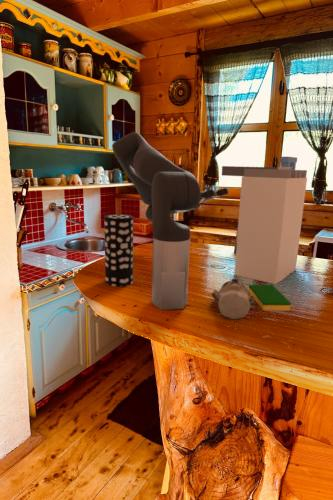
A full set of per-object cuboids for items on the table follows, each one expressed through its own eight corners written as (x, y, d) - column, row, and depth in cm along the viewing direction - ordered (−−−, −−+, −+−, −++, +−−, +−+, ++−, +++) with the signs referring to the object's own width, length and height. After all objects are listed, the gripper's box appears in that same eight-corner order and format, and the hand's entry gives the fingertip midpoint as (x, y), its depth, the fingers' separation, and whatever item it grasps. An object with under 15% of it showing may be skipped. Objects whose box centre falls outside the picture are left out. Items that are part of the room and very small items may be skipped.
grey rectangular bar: (291, 178, 102) (292, 167, 102) (287, 178, 100) (288, 167, 99) (226, 175, 115) (226, 165, 115) (221, 175, 113) (222, 165, 112)
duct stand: (295, 269, 120) (309, 157, 111) (275, 284, 104) (289, 155, 95) (258, 262, 128) (268, 157, 119) (234, 274, 113) (243, 155, 103)
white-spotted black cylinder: (136, 279, 106) (137, 215, 101) (126, 288, 98) (126, 219, 93) (112, 276, 108) (111, 213, 103) (100, 284, 100) (99, 217, 95)
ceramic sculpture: (212, 285, 76) (213, 269, 91) (210, 321, 78) (211, 300, 93) (261, 289, 75) (253, 272, 90) (257, 325, 77) (250, 303, 91)
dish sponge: (262, 312, 85) (263, 303, 85) (247, 292, 99) (248, 284, 98) (290, 312, 85) (291, 303, 85) (271, 292, 99) (272, 284, 98)
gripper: (171, 192, 124) (206, 181, 112) (195, 190, 134) (229, 180, 123) (175, 213, 124) (211, 204, 113) (198, 209, 134) (233, 200, 123)
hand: (220, 191), depth 118 cm, fingers open, 8 cm apart
